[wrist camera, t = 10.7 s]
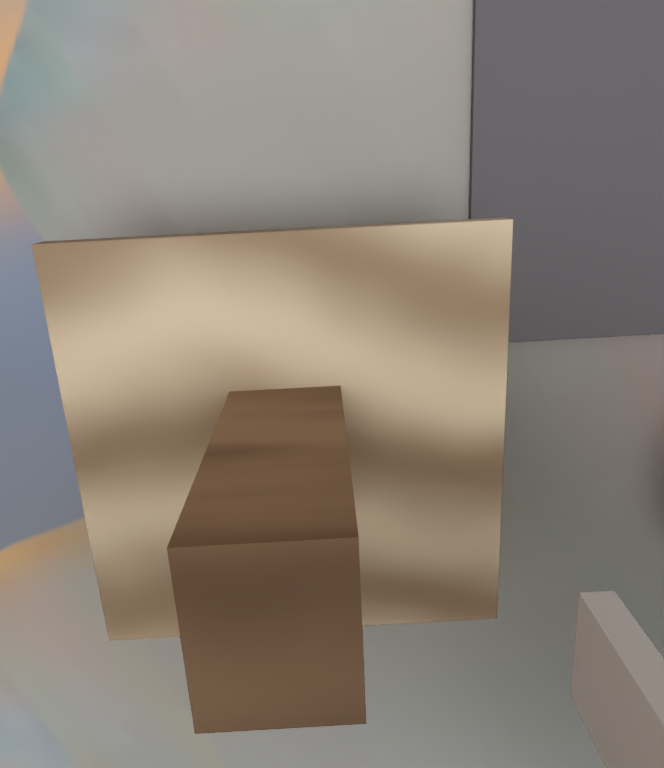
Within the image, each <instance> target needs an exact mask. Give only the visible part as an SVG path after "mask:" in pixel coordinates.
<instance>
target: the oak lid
mask: <svg viewBox="0 0 664 768" xmlns="http://www.w3.org/2000/svg"><path fill="white" fill-rule="evenodd" d="M512 236H513V219H509V218H505V217H504V218H485V219H466V220H447V221H427V222H408V223H389V224H370V225H351V226H331V227H312V228H293V229H274V230H255V231H235V232H216V233H197V234H178V235H159V236H139V237H120V238H101V239H82V240H63V241H44V242H40V243H35V244H32V250H33V255H34V260H35V265H36V270H37V274H38V280H39V285H40V290H41V295H42V301H43V305H44V311H45V316H46V321H47V326H48V331H49V336H50V341H51V346H52V351H53V356H54V362H55V367H56V372H57V377H58V382H59V387H60V392H61V397H62V402H63V408H64V412H65V418H66V423H67V428H68V433H69V438H70V443H71V448H72V453H73V459H74V463H75V469H76V474H77V479H78V484H79V489H80V494H81V499H82V504H83V509H84V515H85V520H86V525H87V530H88V535H89V540H90V545H91V550H92V555H93V560H94V566H95V571H96V576H97V581H98V586H99V591H100V596H101V601H102V606H103V611H104V616H105V622H106V627H107V632H108V637H109V640H125V639H143V638H160V637H178V636H180V639H181V645H182V652H183V658H184V665H185V671H186V678H187V684H188V691H189V698H190V704H191V711H192V717H193V724H194V730H195V734H198V733H215V732H232V731H250V730H267V729H284V728H301V727H318V726H335V725H352V724H366V706H365V681H364V657H363V632H362V626H370V625H387V624H405V623H422V622H440V621H457V620H475V619H492V618H497V601H498V577H499V553H500V528H501V504H502V479H503V455H504V431H505V406H506V382H507V358H508V333H509V309H510V285H511V260H512Z"/></svg>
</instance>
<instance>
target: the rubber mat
mask: <svg viewBox="0 0 664 768" xmlns="http://www.w3.org/2000/svg"><path fill="white" fill-rule="evenodd" d="M504 217H505V218H509V219H513V236H512V260H511V285H510V309H509V333H508V342H521V341H540V340H558V339H577V338H595V337H614V336H632V335H651V334H664V0H474V10H473V58H472V106H471V153H470V201H469V219H485V218H504Z"/></svg>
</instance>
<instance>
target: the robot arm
mask: <svg viewBox="0 0 664 768" xmlns="http://www.w3.org/2000/svg"><path fill="white" fill-rule="evenodd" d="M571 696H572V698H573V701H574V703H575V705H576V707H577V709H578V711H579V713H580V715H581V717H582V719H583V721H584V723H585V725H586V727H587V729H588V731H589V733H590V735H591V737H592V739H593V741H594V743H595V745H596V747H597V749H598V751H599V753H600V755H601V757H602V759H603V761H604V763H605V765H606V767H607V768H664V658H663V657H662V656H661V654H660V653H659V651H658V650H657V649H656V647H655V646H654V645H653V643H652V642H651V640H650V639H649V638H648V636H647V635H646V634H645V632H644V631H643V629H642V628H641V627H640V625H639V624H638V623H637V621H636V620H635V618H634V617H633V616H632V614H631V613H630V611H629V610H628V609H627V607H626V606H625V605H624V603H623V602H622V600H621V599H620V598H619V596H618V595H617V594H616V592H615V591H601V592H582V593H579V601H578V613H577V624H576V636H575V648H574V660H573V671H572V683H571Z"/></svg>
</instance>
